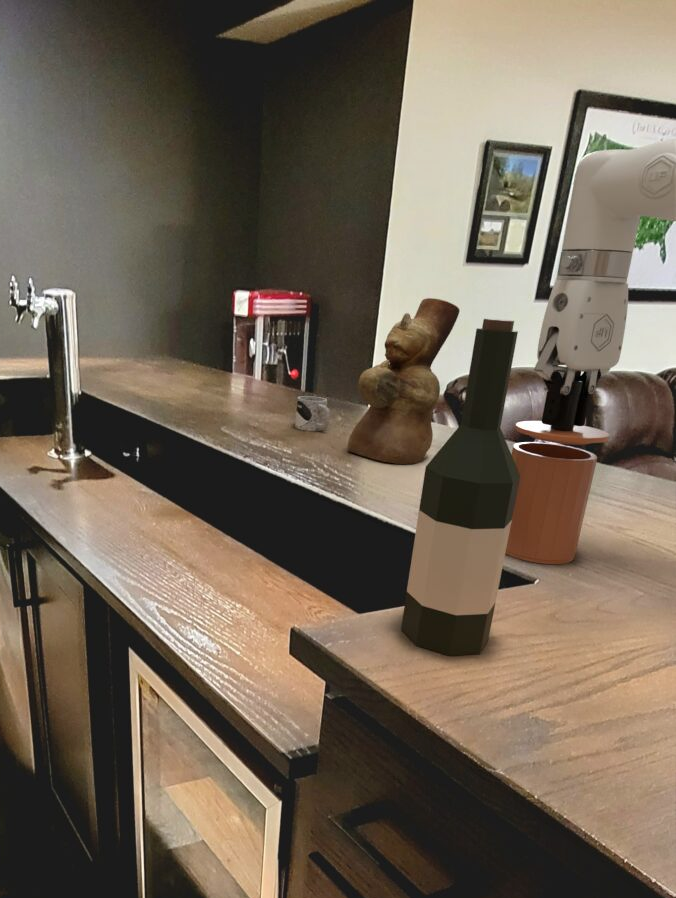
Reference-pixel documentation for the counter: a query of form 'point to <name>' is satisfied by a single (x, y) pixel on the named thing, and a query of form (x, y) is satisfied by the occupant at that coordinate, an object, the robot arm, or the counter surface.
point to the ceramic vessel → (404, 388)
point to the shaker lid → (565, 434)
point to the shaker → (549, 501)
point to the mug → (312, 413)
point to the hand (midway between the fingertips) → (562, 423)
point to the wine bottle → (466, 511)
